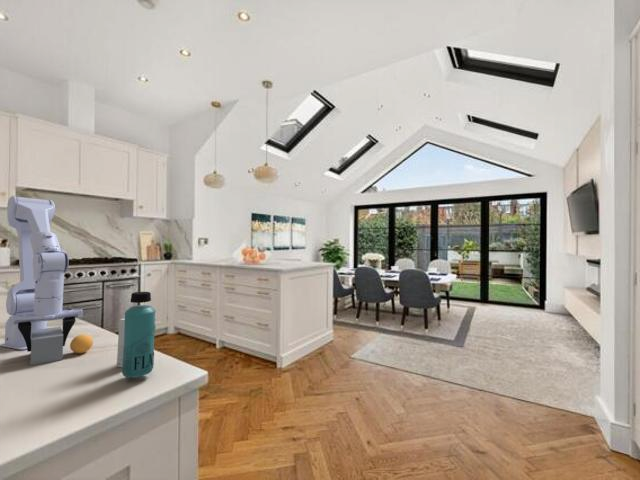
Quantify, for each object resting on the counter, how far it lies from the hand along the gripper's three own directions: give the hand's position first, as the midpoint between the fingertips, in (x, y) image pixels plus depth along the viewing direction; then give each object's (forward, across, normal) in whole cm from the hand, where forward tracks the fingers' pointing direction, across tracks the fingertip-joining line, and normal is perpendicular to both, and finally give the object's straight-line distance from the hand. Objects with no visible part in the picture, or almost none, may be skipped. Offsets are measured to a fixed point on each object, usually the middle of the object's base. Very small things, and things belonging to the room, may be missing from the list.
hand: (46, 347), depth 80 cm
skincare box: (+3, +16, -19) cm, 25 cm away
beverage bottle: (+3, +15, -29) cm, 33 cm away
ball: (0, +7, -2) cm, 7 cm away
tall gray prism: (+2, 0, 0) cm, 2 cm away
